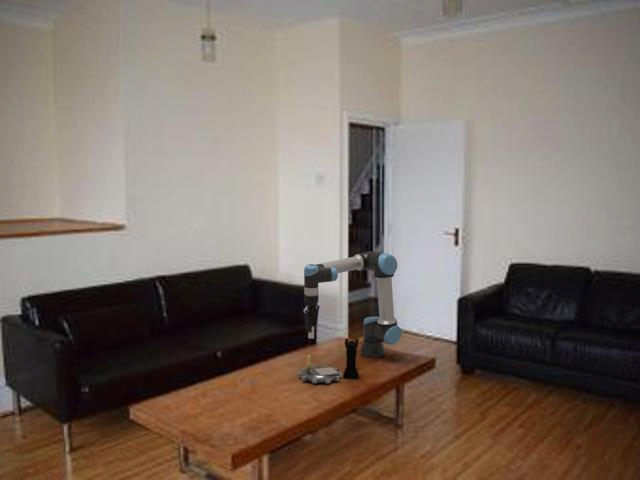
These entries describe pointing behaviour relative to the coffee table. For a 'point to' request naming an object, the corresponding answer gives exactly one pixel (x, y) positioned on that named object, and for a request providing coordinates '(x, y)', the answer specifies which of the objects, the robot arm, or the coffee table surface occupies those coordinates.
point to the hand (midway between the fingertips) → (311, 337)
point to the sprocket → (319, 373)
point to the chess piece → (351, 360)
